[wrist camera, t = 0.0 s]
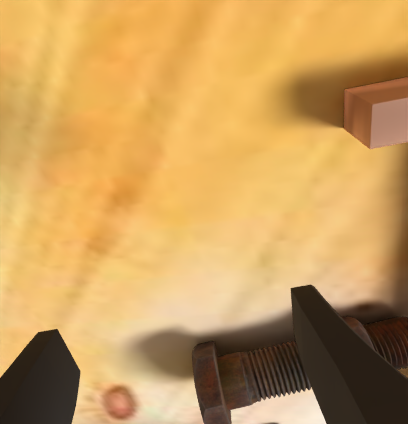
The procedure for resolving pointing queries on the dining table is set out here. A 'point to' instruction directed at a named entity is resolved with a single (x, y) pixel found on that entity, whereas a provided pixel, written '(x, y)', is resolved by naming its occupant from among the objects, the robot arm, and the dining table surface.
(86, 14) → the dining table surface
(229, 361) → the bolt
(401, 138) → the walnut fence
